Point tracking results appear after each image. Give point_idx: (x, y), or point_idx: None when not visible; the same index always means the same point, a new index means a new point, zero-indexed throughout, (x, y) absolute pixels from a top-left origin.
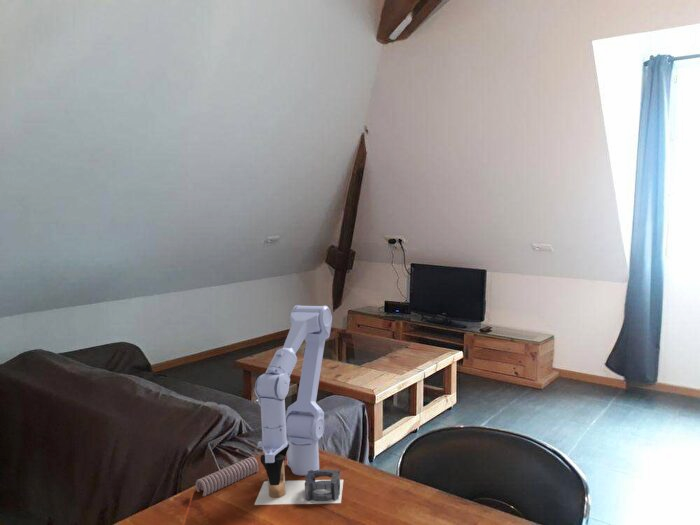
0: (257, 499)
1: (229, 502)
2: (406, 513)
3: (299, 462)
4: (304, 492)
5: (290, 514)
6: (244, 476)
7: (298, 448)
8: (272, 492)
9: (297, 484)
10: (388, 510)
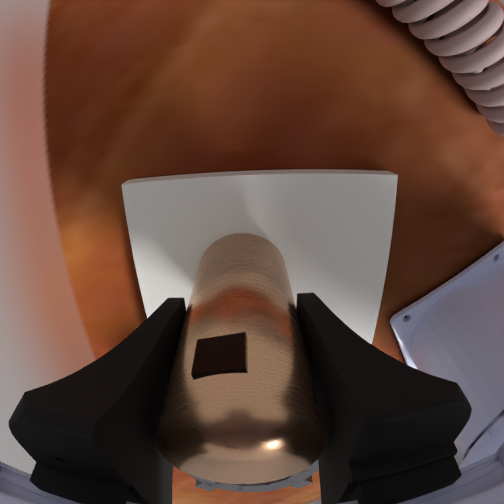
0: (177, 184)
1: (195, 27)
2: (185, 497)
3: (445, 365)
4: None
5: (115, 332)
6: (444, 63)
7: (477, 415)
8: (196, 274)
9: None
10: (191, 486)
